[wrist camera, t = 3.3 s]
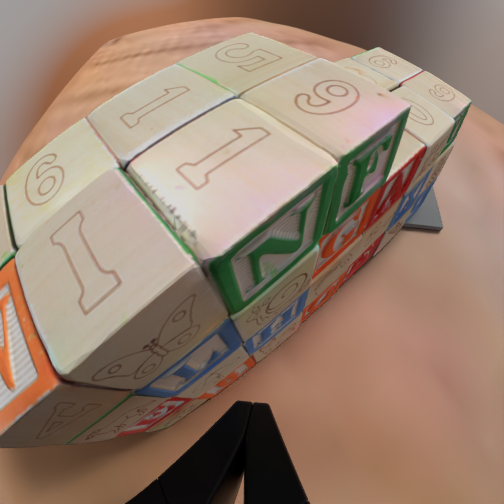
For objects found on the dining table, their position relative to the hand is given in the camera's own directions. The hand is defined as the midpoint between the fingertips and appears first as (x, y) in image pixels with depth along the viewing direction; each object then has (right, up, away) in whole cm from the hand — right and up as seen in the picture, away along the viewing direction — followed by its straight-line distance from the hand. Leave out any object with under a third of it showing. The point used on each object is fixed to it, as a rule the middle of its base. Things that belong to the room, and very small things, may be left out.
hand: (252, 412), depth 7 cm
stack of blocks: (+2, +3, +10) cm, 11 cm away
